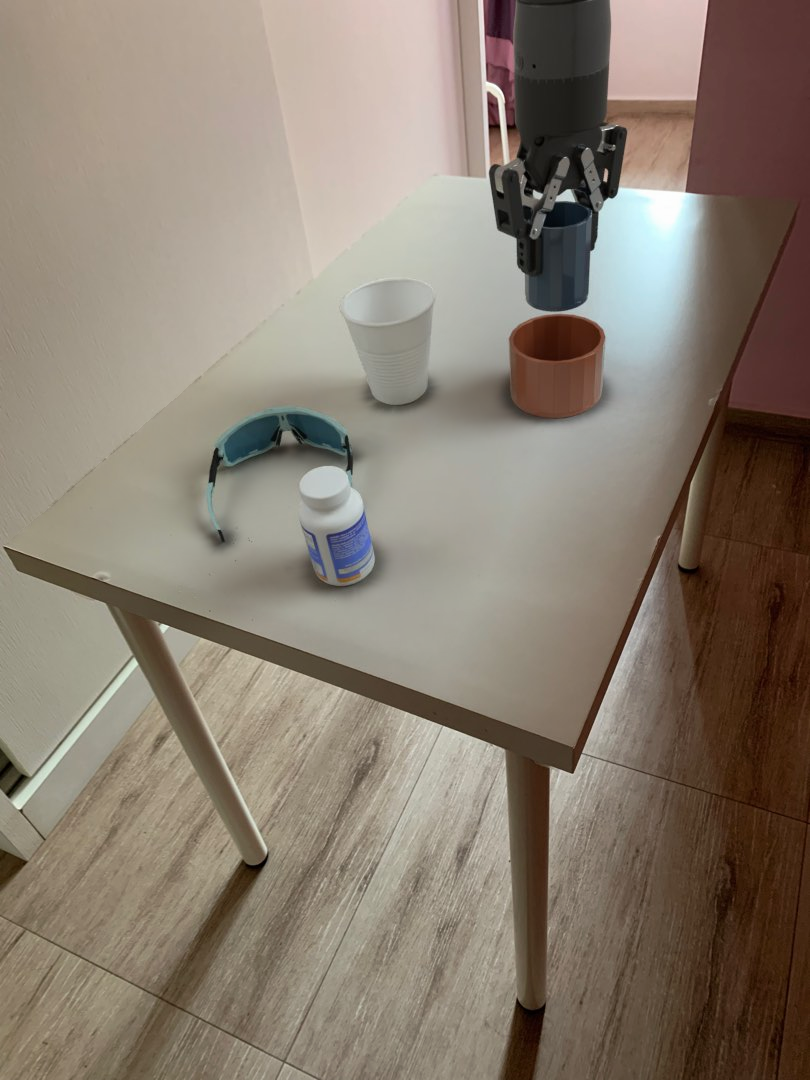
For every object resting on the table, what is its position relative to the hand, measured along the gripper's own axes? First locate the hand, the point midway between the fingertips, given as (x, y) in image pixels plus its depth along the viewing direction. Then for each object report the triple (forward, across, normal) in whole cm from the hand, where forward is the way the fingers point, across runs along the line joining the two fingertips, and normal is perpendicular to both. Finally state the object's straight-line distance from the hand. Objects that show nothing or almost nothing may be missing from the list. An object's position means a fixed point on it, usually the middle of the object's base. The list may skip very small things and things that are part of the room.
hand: (557, 260), depth 76 cm
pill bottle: (+15, -31, -7) cm, 35 cm away
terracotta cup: (+15, 0, 0) cm, 15 cm away
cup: (+15, -12, +12) cm, 23 cm away
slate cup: (+4, 0, 0) cm, 4 cm away
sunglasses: (+15, -30, +6) cm, 34 cm away
